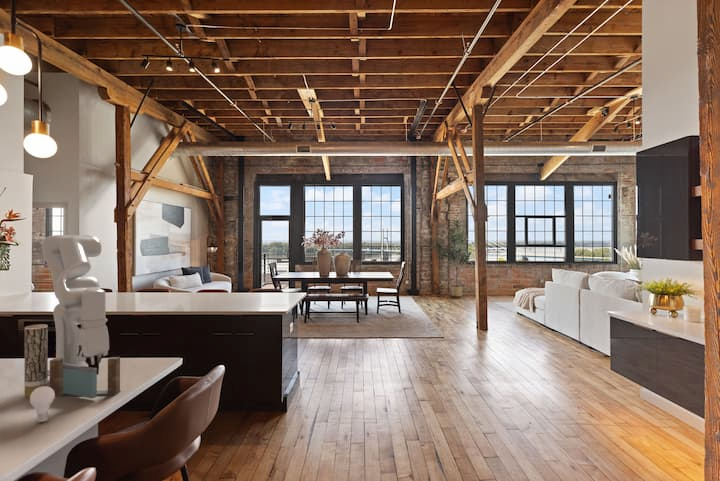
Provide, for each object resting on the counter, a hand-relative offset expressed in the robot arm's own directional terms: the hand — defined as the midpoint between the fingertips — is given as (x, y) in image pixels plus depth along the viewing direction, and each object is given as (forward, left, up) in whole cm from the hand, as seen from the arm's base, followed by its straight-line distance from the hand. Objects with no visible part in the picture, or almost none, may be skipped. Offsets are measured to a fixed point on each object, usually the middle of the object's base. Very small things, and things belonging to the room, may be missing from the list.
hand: (93, 374), depth 161 cm
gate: (-4, -1, -7) cm, 8 cm away
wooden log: (-21, +3, -8) cm, 23 cm away
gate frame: (-4, +2, -8) cm, 9 cm away
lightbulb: (-4, -23, -8) cm, 25 cm away
